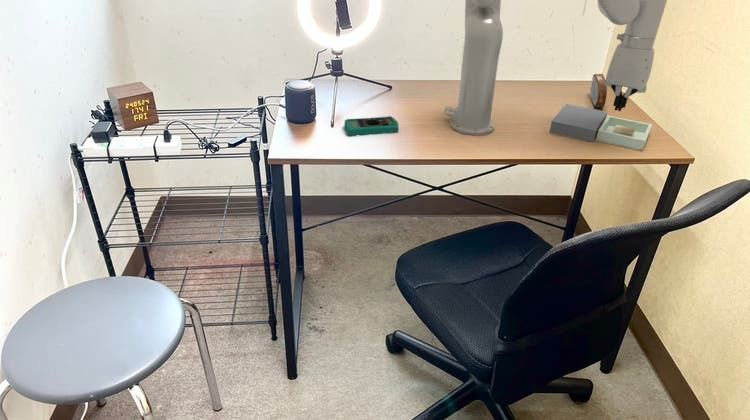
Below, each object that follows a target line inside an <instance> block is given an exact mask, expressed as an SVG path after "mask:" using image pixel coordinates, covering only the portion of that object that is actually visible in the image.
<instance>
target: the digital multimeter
mask: <svg viewBox="0 0 750 420" xmlns="http://www.w3.org/2000/svg"><path fill="white" fill-rule="evenodd" d="M344 129H345V132H346V134H347V135H348V137H357V136H356V135H359V136H368V135H369V134H371V135H383V133H386V134H398V133H399V123H398V121H397V120H396V119H395V118H394V117H393V116H391V115H390V116H379V117H376V116H375V117H364V118H363V117H362V118H347V119H345V120H344ZM369 136H370V135H369Z"/></svg>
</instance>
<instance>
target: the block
mask: <svg viewBox="0 0 750 420" xmlns="http://www.w3.org/2000/svg"><path fill="white" fill-rule="evenodd" d="M634 132H635V128H630V127H625V126H620V125H616V127H615V128H614V130H613V133H616V134H621V135H626V136H630V137H633V135H634Z"/></svg>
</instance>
